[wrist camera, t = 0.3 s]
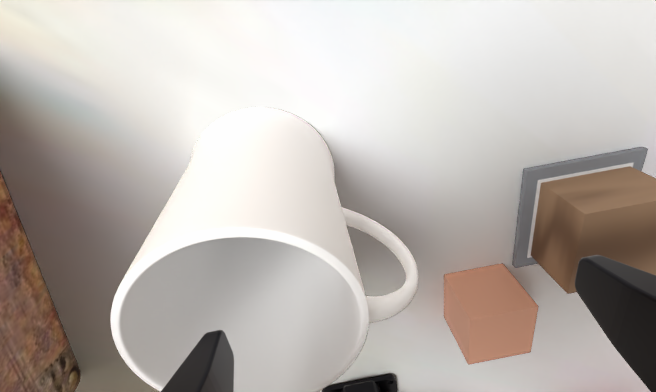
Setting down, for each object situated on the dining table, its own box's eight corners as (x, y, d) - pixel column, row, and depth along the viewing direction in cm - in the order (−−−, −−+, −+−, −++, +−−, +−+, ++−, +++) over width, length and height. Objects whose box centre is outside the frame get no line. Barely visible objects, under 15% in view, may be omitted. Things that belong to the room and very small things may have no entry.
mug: (403, 148, 22) (510, 280, 12) (352, 257, 26) (399, 434, 15) (206, 84, 19) (114, 184, 9) (178, 217, 23) (89, 402, 12)
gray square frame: (615, 244, 28) (620, 248, 27) (512, 264, 28) (515, 268, 27) (642, 146, 24) (648, 149, 24) (523, 168, 24) (527, 171, 23)
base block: (610, 240, 27) (658, 276, 23) (530, 255, 27) (567, 293, 23) (630, 166, 24) (689, 194, 21) (541, 182, 24) (584, 214, 20)
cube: (497, 305, 30) (530, 352, 26) (443, 316, 30) (468, 364, 26) (502, 262, 28) (538, 306, 24) (443, 273, 28) (470, 319, 24)
